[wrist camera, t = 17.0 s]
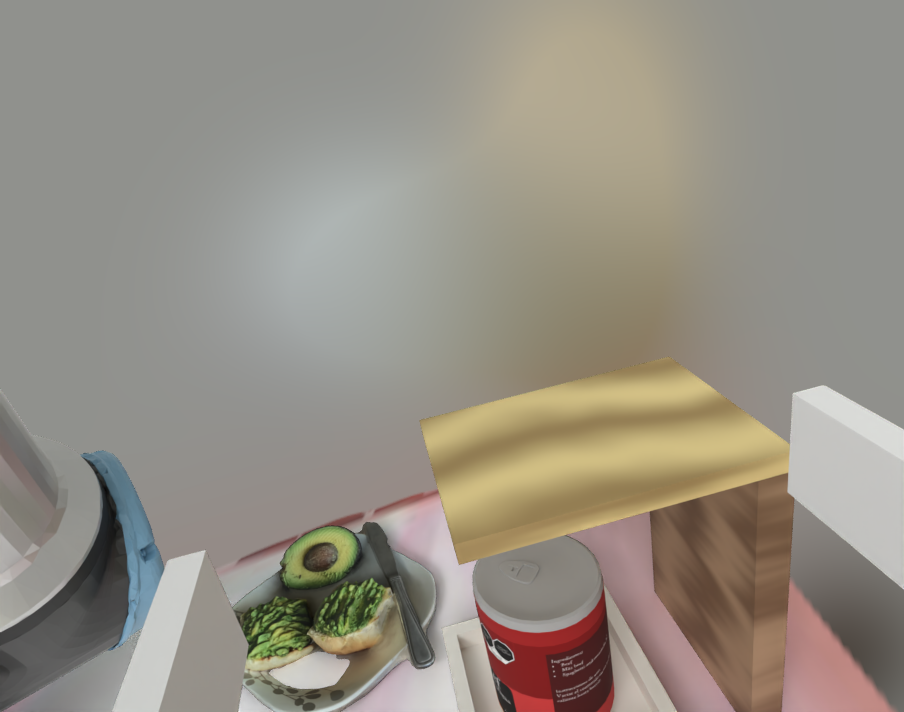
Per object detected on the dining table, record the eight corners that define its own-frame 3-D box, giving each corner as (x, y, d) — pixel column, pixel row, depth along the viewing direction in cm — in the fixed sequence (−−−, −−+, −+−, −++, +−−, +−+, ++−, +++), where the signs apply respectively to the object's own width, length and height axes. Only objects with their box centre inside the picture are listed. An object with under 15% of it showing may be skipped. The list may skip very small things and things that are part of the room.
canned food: (507, 641, 45) (484, 527, 41) (616, 650, 43) (604, 530, 38) (487, 741, 39) (457, 618, 34) (615, 759, 36) (600, 630, 32)
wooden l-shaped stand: (780, 724, 37) (797, 449, 29) (516, 809, 35) (454, 544, 27) (678, 584, 48) (669, 356, 40) (472, 644, 46) (419, 420, 38)
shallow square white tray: (694, 761, 36) (693, 740, 35) (485, 829, 35) (479, 809, 34) (604, 600, 48) (602, 581, 47) (446, 646, 46) (441, 627, 46)
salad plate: (503, 607, 49) (494, 564, 48) (330, 793, 38) (310, 747, 36) (359, 524, 62) (348, 488, 61) (199, 646, 51) (180, 606, 50)
